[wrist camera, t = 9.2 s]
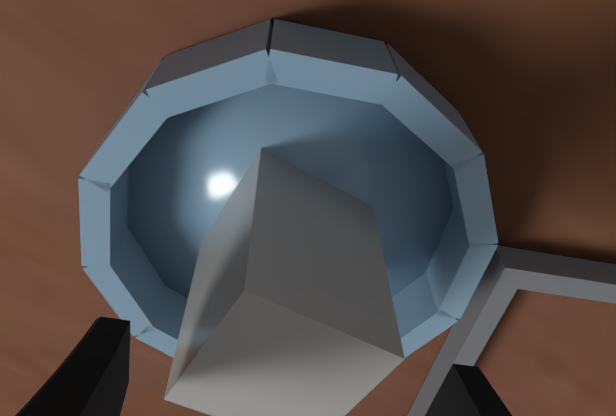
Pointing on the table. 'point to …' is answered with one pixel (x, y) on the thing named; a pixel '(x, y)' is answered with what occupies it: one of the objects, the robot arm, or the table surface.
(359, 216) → the stone block
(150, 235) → the bowl
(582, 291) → the tray
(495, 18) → the table surface
